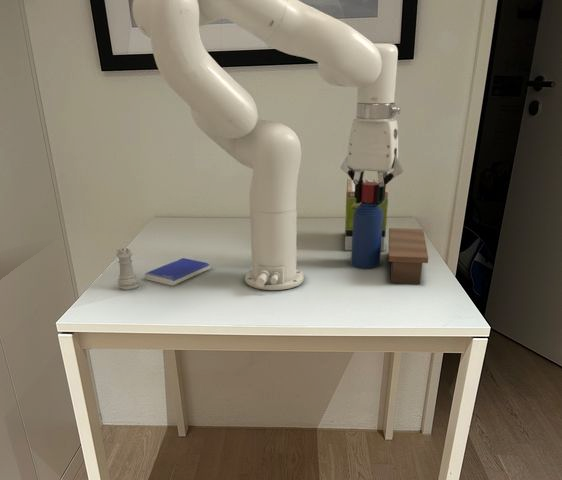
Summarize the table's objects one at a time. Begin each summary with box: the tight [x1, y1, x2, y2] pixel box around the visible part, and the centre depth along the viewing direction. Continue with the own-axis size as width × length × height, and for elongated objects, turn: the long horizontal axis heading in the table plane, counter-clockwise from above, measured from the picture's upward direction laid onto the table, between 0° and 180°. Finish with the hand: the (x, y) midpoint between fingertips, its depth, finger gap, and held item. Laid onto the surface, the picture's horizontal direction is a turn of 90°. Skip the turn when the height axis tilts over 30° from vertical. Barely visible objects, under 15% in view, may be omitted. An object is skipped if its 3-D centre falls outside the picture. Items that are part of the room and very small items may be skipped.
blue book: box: [144, 257, 211, 287], centre depth 129 cm, size 2×8×12 cm
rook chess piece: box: [115, 247, 140, 291], centre depth 121 cm, size 4×4×8 cm
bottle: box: [350, 202, 383, 269], centre depth 131 cm, size 7×7×18 cm
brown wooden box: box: [388, 227, 429, 285], centre depth 131 cm, size 22×8×6 cm, turn 171°
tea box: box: [344, 178, 389, 252], centre depth 146 cm, size 15×10×15 cm, turn 175°
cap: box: [361, 182, 378, 203], centre depth 127 cm, size 4×4×4 cm
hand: (369, 202), depth 128 cm, fingers closed on cap, 3 cm apart
